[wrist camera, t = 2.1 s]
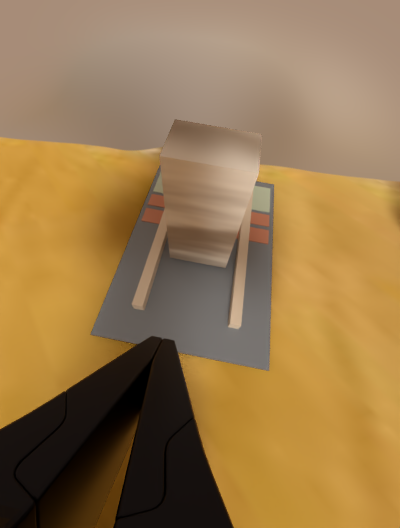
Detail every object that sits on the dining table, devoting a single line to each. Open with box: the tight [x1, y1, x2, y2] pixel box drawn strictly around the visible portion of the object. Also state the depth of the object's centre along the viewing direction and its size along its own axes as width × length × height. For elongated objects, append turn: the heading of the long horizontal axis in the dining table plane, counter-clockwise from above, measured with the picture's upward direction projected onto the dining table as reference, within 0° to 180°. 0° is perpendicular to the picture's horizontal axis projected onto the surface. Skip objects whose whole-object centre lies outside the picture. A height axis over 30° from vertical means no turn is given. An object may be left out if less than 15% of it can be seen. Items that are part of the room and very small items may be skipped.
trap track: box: [91, 166, 274, 371], centre depth 24 cm, size 24×16×3 cm
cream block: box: [160, 120, 262, 268], centre depth 20 cm, size 4×6×12 cm, turn 80°
